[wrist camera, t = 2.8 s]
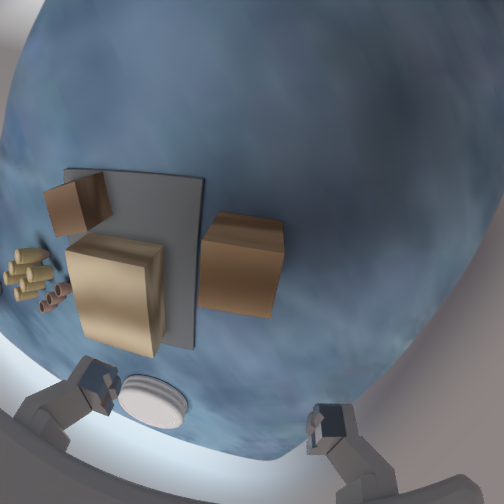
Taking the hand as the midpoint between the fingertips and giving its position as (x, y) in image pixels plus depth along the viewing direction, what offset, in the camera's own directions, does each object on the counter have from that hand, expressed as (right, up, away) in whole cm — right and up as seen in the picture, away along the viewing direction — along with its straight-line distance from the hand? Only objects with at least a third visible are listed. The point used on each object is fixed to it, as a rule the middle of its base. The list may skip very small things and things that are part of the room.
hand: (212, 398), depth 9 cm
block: (-13, +11, +11) cm, 20 cm away
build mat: (-10, +5, +15) cm, 19 cm away
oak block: (+1, +6, +13) cm, 15 cm away
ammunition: (-24, +3, +17) cm, 29 cm away
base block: (-11, +3, +15) cm, 19 cm away
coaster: (-12, -15, +25) cm, 32 cm away
